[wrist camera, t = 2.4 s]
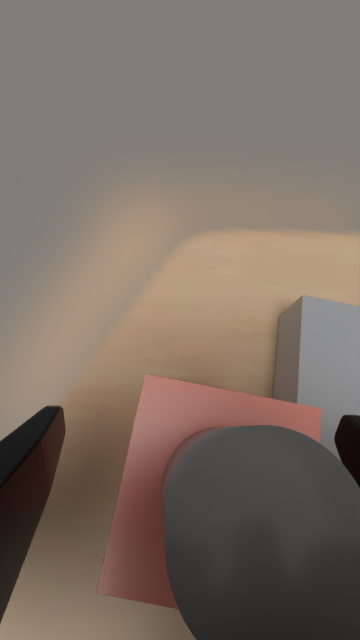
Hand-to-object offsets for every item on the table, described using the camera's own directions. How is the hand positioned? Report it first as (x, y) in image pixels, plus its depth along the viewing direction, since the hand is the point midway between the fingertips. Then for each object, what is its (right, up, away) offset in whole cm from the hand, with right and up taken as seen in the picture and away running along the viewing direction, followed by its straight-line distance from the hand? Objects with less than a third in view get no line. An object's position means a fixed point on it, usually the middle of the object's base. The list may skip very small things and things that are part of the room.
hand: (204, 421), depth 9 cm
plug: (-1, -4, +6) cm, 7 cm away
